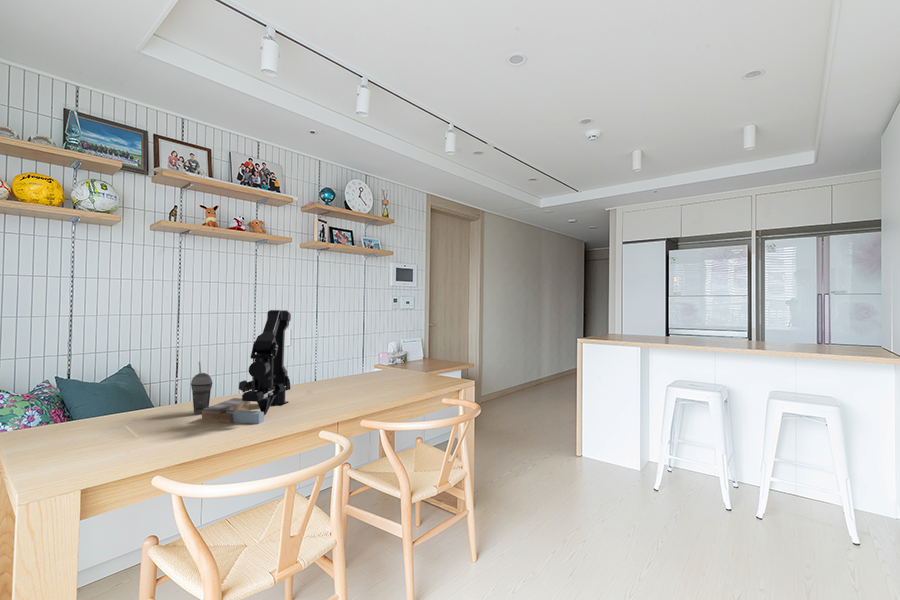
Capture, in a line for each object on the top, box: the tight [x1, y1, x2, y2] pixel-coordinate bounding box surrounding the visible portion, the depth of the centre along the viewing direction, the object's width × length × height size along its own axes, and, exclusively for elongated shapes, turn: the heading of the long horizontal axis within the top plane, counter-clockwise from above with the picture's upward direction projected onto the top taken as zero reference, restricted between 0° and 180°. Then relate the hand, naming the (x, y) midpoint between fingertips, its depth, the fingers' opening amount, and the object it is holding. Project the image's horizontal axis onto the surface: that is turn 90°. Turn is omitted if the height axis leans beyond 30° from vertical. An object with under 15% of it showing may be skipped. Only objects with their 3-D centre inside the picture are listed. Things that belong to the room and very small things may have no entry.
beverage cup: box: [190, 361, 213, 416], centre depth 163 cm, size 7×7×20 cm
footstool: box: [201, 397, 251, 424], centre depth 160 cm, size 18×11×5 cm, turn 173°
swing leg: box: [226, 410, 265, 425], centre depth 153 cm, size 14×3×4 cm, turn 82°
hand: (263, 415), depth 157 cm, fingers closed
